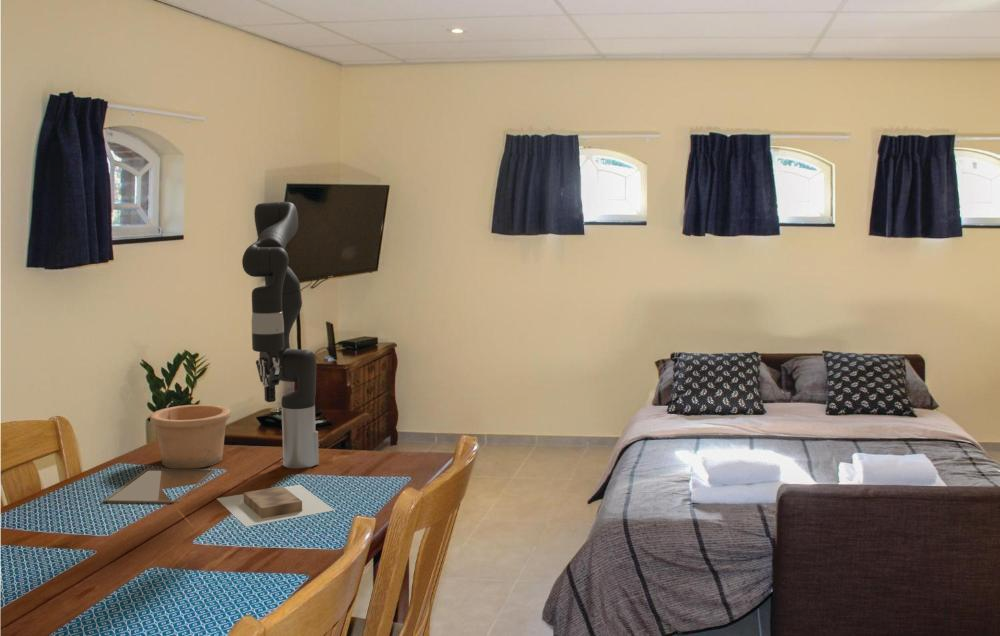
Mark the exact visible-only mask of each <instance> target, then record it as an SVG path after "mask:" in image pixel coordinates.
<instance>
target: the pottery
mask: <svg viewBox="0 0 1000 636" xmlns="http://www.w3.org/2000/svg"><path fill="white" fill-rule="evenodd" d="M149 416H150V417H149V419H150V424H152V425H154V428H155V432H156V437H157V443H158V444H157V445H158V447H159V453H160V457H161V465H162V466H164V467H165V468H167V469H200V468H201V469H203V468H207V467H212V466H214V465H216V464H219V463H220V462H222V460H223V455H224V453H223V452H224V446H225V438H226V437H225V434H226V425H227V420H229V419H230V418H231V411H230V409H229V408H227V407H225V406H222V405H217V404H215V405H214V404H186V405H177V406H171V407H170V406H169V407H165V408H161V409H158V410H156V411H154V412H152V413H151V414H150V415H149Z"/></svg>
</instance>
